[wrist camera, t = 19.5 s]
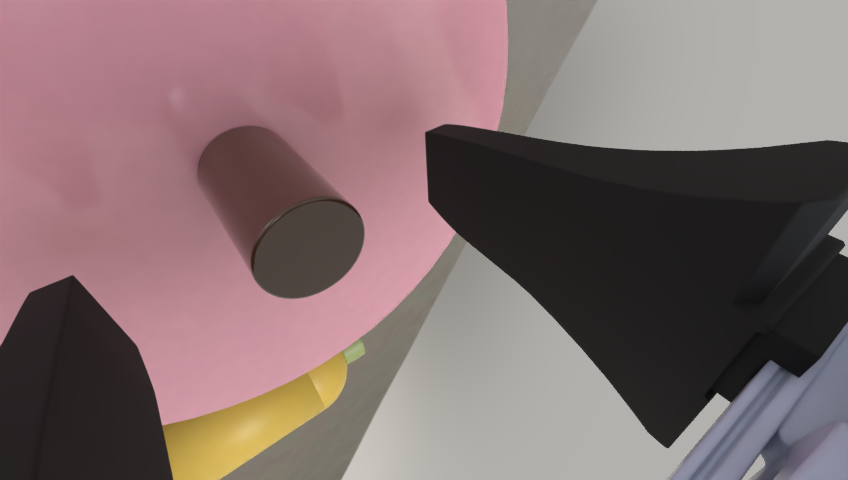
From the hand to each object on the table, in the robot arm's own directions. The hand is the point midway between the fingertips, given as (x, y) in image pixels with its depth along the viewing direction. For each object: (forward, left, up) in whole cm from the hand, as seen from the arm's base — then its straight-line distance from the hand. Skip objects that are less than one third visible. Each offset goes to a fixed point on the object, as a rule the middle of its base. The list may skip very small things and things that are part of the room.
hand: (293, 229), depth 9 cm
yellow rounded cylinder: (-4, -15, -8) cm, 17 cm away
